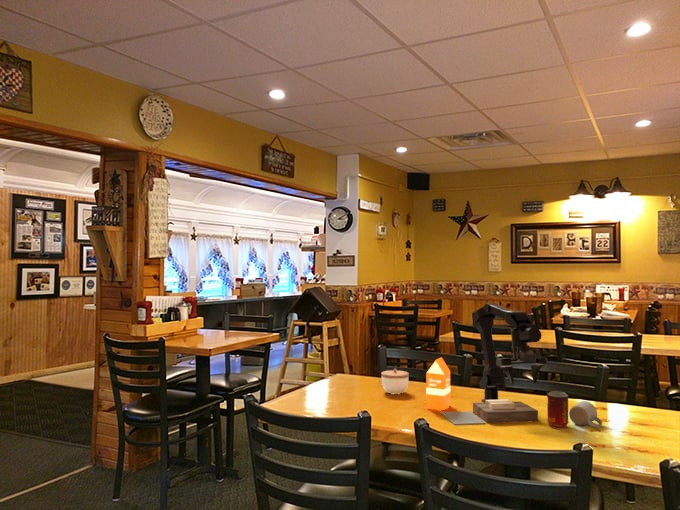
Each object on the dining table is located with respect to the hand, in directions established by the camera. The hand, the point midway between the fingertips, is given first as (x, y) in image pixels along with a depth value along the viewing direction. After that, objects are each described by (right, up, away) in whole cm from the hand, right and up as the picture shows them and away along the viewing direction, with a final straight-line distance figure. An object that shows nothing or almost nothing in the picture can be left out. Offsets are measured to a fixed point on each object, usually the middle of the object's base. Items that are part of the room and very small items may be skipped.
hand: (523, 383), depth 208 cm
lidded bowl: (-46, -14, +39) cm, 62 cm away
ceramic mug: (+20, -13, -10) cm, 26 cm away
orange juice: (-31, -13, +13) cm, 36 cm away
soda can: (+8, -13, -13) cm, 20 cm away
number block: (-10, -9, -1) cm, 13 cm away
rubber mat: (-25, -12, -3) cm, 28 cm away
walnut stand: (-8, -13, -1) cm, 15 cm away
